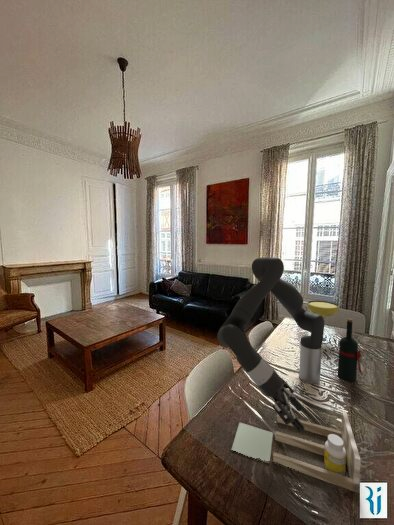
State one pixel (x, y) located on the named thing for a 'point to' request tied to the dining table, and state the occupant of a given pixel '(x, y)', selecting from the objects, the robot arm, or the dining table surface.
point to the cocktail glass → (323, 308)
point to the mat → (253, 442)
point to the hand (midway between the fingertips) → (301, 419)
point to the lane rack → (317, 472)
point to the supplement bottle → (335, 455)
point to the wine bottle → (348, 356)
